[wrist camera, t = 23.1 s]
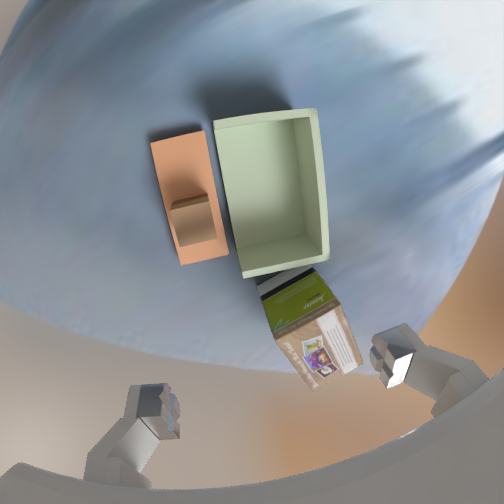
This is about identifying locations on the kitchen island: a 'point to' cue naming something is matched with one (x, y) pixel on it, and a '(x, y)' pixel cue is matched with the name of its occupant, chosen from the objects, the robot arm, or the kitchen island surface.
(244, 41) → the kitchen island surface
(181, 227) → the walnut block
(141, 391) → the robot arm
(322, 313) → the tea box
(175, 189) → the board
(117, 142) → the kitchen island surface
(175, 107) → the kitchen island surface
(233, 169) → the box
